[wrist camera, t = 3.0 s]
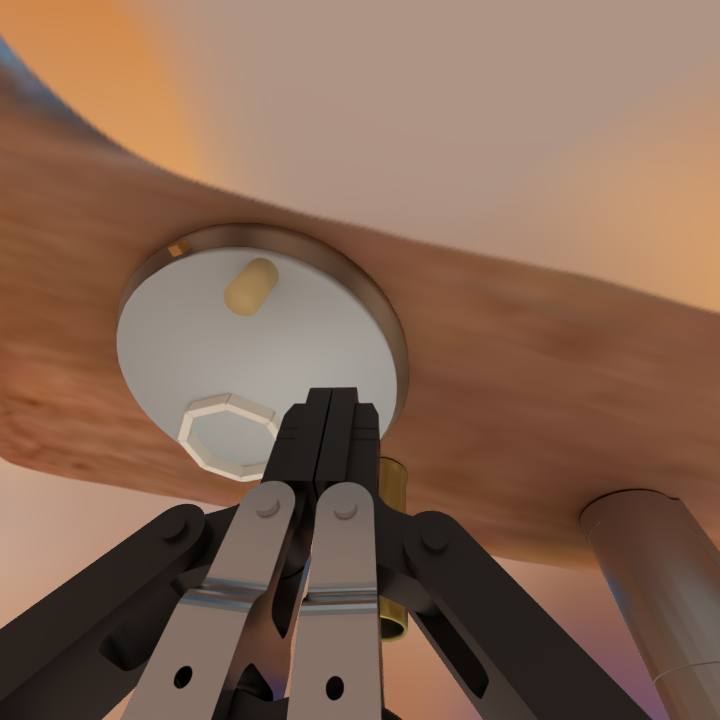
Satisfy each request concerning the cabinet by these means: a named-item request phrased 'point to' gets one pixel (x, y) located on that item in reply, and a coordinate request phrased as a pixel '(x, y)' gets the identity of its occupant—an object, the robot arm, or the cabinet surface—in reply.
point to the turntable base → (302, 250)
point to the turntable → (246, 351)
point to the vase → (395, 497)
